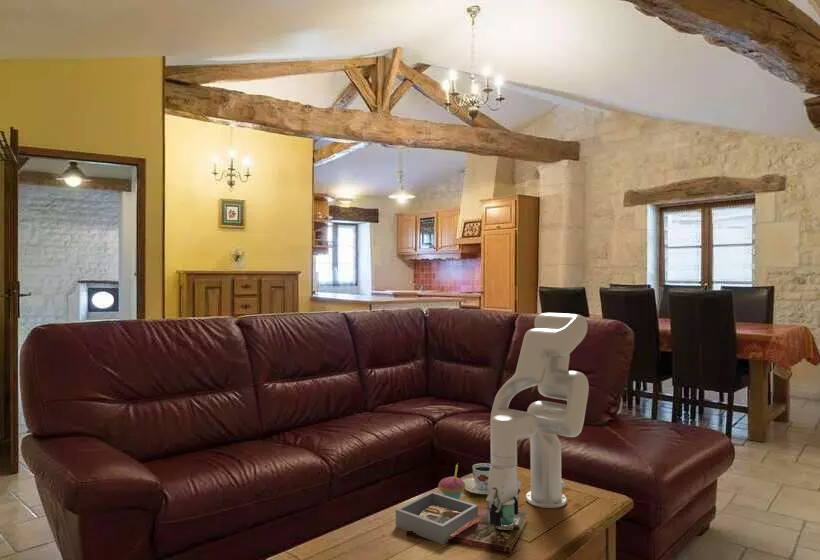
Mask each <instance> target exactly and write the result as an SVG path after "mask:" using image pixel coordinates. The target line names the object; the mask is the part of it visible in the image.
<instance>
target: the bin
mask: <svg viewBox="0 0 820 560" xmlns="http://www.w3.org/2000/svg"><path fill="white" fill-rule="evenodd" d="M431 505H435V506H439V507H443V508H447V509H450V510H454V511H458V512H461V513H460V514H458V515H456V516H455V517H453V518H451V519H450V520H448V521H446V522H445V523H443V524H441V523H438V522H435V521H432V520H429V519H427V518H424V517H421V516H419V515H420V513H421V512H422V511H423V510H425V509H426V508H428V507H429V506H431ZM478 506H479V505H477V504H475V503H470V502H467V501H465V500H461V499H459V500H458V499H455V498H452V497H449V496H445V495H443V493H439V492H435V491H430V492H428V493H426V494H424V495H421V496H420V497H418V498H416V499H414V500H412V501H410V502H408V503H406V504H403V505H401V506H399V507H397V508H396V509H395V527H396V528H398V529H401V530H403V531H405V532H408V531H413V532H414V533H416V534H415V535H416V536H420V537H422V538H424V539H426V540H427V539H428V540H430V541H432V542H435V543H438V544H441V545H442V546H443V545H445V544H447V543H448V542H449V541H448V538H449V536H450V535H451V534H452V533H454V532H455V531H457V530H458V529H459V528H460V527H462V526H463V525H465V524H466V523H468V522H469V521H471V520H473V519H474V518H476V517H478V518H479V515H478V512H479V511H478V510H479V509H478V508H479V507H478ZM414 533H413V534H414ZM417 534H418V535H417Z"/></svg>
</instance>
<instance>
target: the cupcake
mask: <svg viewBox="0 0 820 560" xmlns="http://www.w3.org/2000/svg"><path fill="white" fill-rule="evenodd" d="M458 464H459V463H458V462H457V464H456V465H455V471H454V476H445V477H444V478H442V479H441V480H440V481H439V482H438V486H437V487H438V489H439V490H440V492H442V493H441V494H442V495H445V496H449V497H452V498H455V499H458V500H461V499H460V498H461V495H462V493H463V492H464V491H465V489H466V484H465V482H464V481H463V480H462V479H461V478H459V477H457V476H458V475H457V474H458V469H459V465H458Z"/></svg>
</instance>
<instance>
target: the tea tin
mask: <svg viewBox="0 0 820 560" xmlns="http://www.w3.org/2000/svg"><path fill="white" fill-rule="evenodd" d="M496 500H499V499H497V498H496ZM514 503H515V499H514V498H511V499H510V500H508V501H506V502H505V503H503V504H501V507H500V510H499V512H501V524H502V525H510V524H512V523H514V524H515V514H514ZM497 504H498V503H494V505H495V506H496V507H497Z"/></svg>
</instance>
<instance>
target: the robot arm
mask: <svg viewBox="0 0 820 560" xmlns="http://www.w3.org/2000/svg"><path fill="white" fill-rule="evenodd" d="M533 325H534V328H530V329H528V330H527V331H525V334H524V336H523V339H522V344H521V347H520V353H519V356H518V361H517V365H516V368H515V373H514V374H513V375H512V377H510V378H509V379H508V380H506V382H505V383H504V384H502V386H501V387H500V388H499V390H498V391H497V393H496V395H495V397H494V400H493V404H492V409H491V413H490V466H489V470H488V480H487V497H486V499H485V500H486V501H485V502H486V504H487V505H486V506H487V508H488V511H489V523H490V525H493V526H495V525H496V526H501V512H499V510H500V507H501V504H503V503H505V502H506V501H508V500H510V499H511V498H514V499H515V503H514V516H515V515H516V516H517V515H518V514H519V500H520V496H519V494H520V492H521V490H520V488H521V484H522V483H521V482H522V481H520V480H519V473H518V472H519V471H518V440H519V441H520V440H527V439H529V441H530V447H529V448H530V451H529V452H530V454H529V455H530V491H528V492H526V495H525V500H526V501H527V502H528V503H529V504H530V505H532V506H535V507H539V508H544V509H557V508H558V509H559V508H562V507H564V506H565V505H567V499H568V498H567V496H566V495H565V494H563V493H562V490H563V488H564V487H565V486H566V483H565V481H563V480H562V446H561V442H560V439H559V437H558V436H561V437H562V436H563V437H568V438H576V437H578V436H579V435H580V434H581V432H582V430H583V427H584V422H585V416H586V410H587V404H588V398H589V391H590V390H589V388H590V387H589V380H588V378H587V376H586V375H585V374H584V373H583V372H581V371H577V370H570V369H569V365H570V358H571V356H570V355H571V353H572V352H573V351H574V350H575V349H576V347H578V345H580V344H581V342H583V340H584V339H585V337H586V336H587V333H588V322H587V319H586V318H585V316H583V315H581V314H578V313H577V314H576V313H563V312H543V313H540V314H538V315H536V316H535V318H534V324H533ZM535 386H537V391H538V392H539V394H540V395H541V396H543V397H545V398H551V399H555V400H562V401H566V404H565V403H560V402H559V403H558V402H552V401H548V400H537V401H534V402H531V403H530V404H529V406H528V407H527V411H523V410H517V409H511V408H509V406H510V402H511V401H512V399H513V398H514V397H515V396H516V395H517V394H519V393H520V392H522V391H523V390H526V389H529V388H533V387H535ZM496 498H497V499H499V500H496ZM495 503H498V504H497V507H496V506H495Z"/></svg>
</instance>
